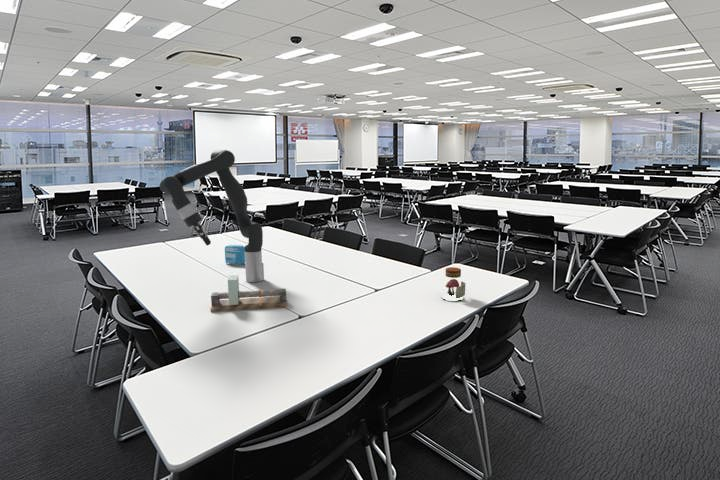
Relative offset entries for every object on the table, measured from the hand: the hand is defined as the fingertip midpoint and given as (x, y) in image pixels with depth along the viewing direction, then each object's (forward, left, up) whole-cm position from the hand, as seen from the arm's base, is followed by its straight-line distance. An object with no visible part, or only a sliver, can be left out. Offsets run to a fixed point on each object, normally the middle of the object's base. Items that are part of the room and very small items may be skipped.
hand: (209, 243), depth 214 cm
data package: (-54, -48, -28) cm, 78 cm away
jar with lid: (-67, +97, -28) cm, 121 cm away
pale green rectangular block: (+1, +17, -26) cm, 31 cm away
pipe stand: (-4, +22, -28) cm, 36 cm away
